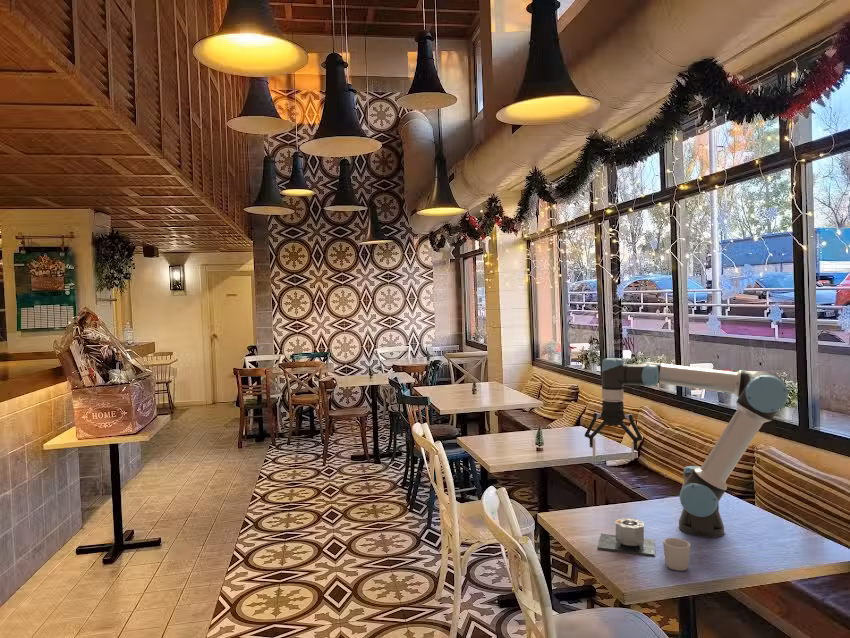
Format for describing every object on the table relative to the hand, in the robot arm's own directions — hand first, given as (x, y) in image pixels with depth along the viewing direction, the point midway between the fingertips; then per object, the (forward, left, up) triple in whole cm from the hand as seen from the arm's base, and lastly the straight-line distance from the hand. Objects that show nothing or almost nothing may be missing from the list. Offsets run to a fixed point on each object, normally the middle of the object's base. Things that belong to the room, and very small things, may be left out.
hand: (613, 457), depth 218 cm
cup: (-20, +26, -27) cm, 42 cm away
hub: (-6, +14, -25) cm, 29 cm away
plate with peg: (-6, +14, -27) cm, 31 cm away
